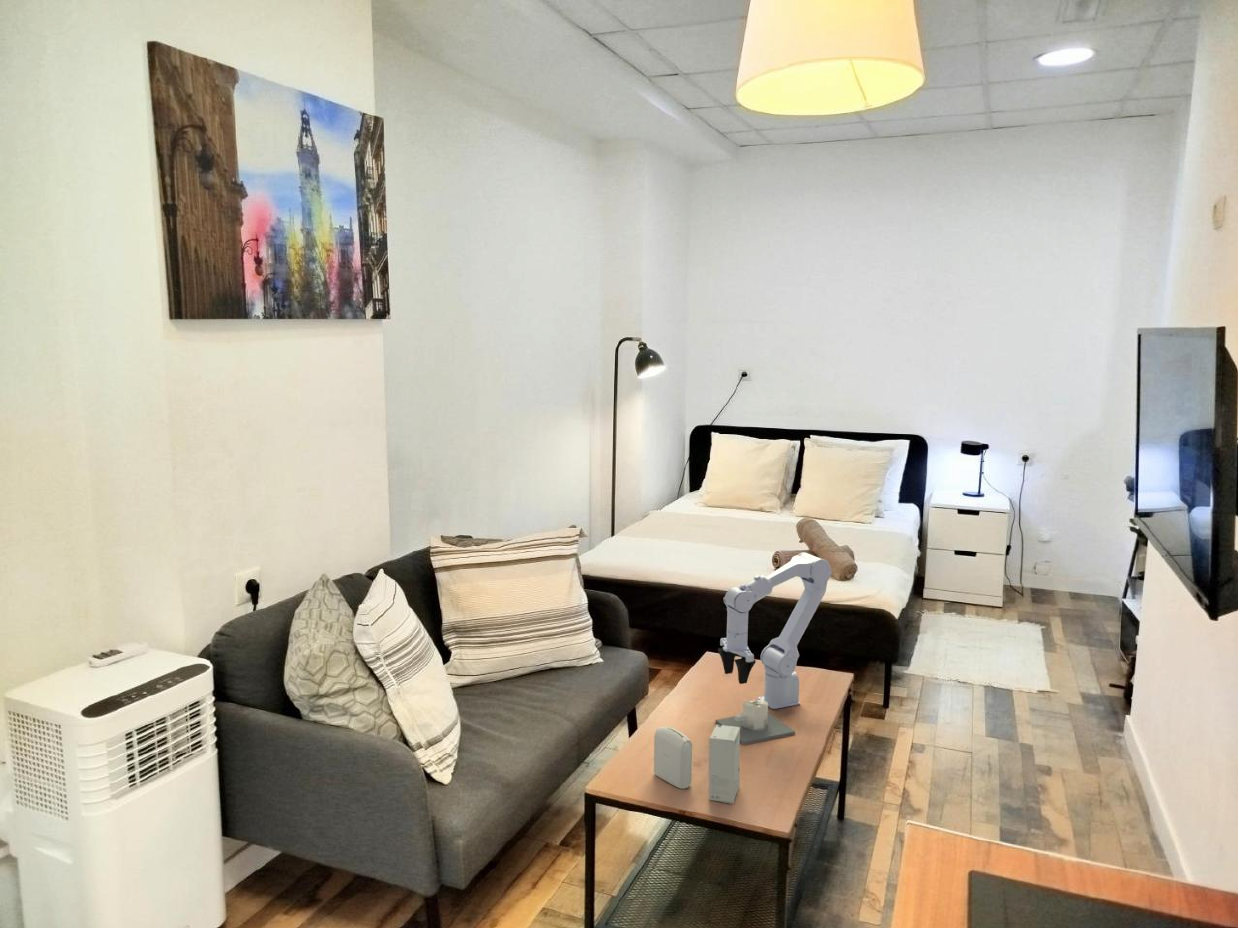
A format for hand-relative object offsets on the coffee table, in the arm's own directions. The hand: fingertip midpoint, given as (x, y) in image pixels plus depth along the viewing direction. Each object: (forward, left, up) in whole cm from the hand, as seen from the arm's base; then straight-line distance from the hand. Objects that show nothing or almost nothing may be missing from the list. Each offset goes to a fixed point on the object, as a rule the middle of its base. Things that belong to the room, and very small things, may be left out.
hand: (735, 678), depth 241 cm
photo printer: (+34, +28, -10) cm, 45 cm away
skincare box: (+26, +38, -10) cm, 47 cm away
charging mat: (+1, +12, -9) cm, 15 cm away
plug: (+2, +12, -9) cm, 15 cm away
